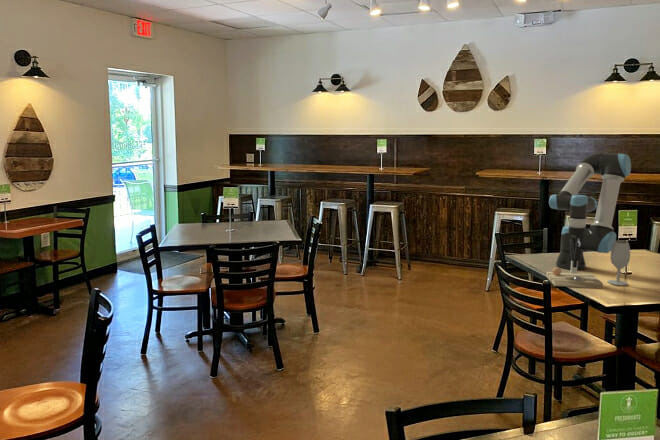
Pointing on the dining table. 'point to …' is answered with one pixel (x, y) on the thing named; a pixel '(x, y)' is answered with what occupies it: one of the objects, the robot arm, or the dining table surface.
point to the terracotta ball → (556, 270)
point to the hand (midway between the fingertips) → (573, 273)
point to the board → (567, 280)
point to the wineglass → (620, 259)
